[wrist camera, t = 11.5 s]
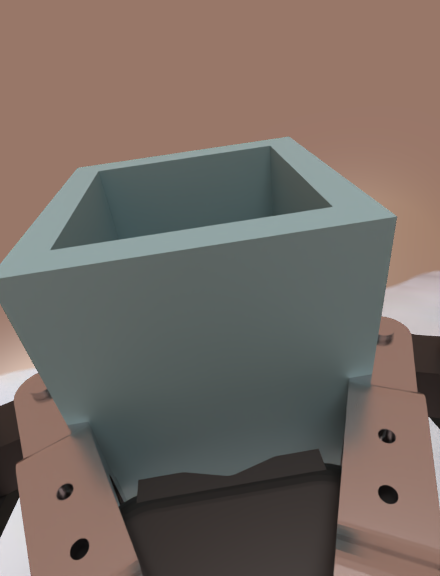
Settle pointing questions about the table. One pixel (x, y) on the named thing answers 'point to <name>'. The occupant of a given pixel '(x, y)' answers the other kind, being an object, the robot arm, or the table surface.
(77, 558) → the robot arm
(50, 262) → the collar
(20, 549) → the table surface
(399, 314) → the table surface
